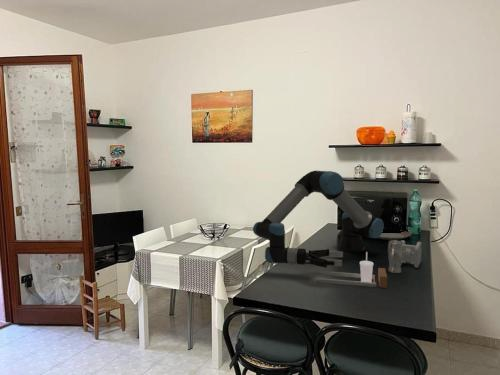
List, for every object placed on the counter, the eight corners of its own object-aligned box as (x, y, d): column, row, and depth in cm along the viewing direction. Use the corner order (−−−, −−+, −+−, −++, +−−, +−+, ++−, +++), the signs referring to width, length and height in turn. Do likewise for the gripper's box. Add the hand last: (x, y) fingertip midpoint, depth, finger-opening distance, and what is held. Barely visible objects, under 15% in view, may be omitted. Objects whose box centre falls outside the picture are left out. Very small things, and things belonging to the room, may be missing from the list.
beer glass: (401, 269, 184) (402, 240, 182) (402, 274, 178) (403, 244, 176) (387, 268, 186) (387, 239, 185) (387, 272, 180) (388, 243, 178)
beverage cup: (365, 284, 165) (366, 254, 163) (356, 280, 170) (356, 251, 169) (376, 282, 167) (376, 252, 166) (366, 278, 173) (367, 249, 171)
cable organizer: (417, 270, 183) (418, 247, 182) (395, 267, 188) (395, 245, 187) (421, 262, 195) (421, 241, 194) (400, 259, 201) (400, 238, 200)
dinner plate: (359, 235, 259) (359, 230, 258) (389, 231, 269) (389, 226, 269) (388, 244, 234) (388, 239, 233) (419, 239, 244) (419, 234, 244)
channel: (316, 282, 169) (316, 271, 168) (319, 273, 180) (319, 263, 180) (386, 288, 161) (387, 277, 160) (384, 278, 172) (384, 268, 171)
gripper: (300, 256, 189) (343, 258, 183) (293, 272, 165) (341, 275, 159) (300, 242, 188) (343, 243, 182) (292, 256, 164) (341, 258, 158)
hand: (342, 258), depth 170 cm, fingers open, 13 cm apart
